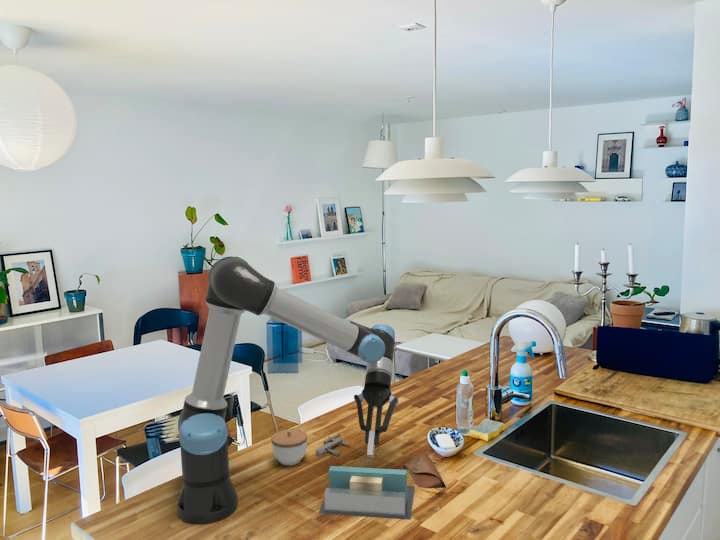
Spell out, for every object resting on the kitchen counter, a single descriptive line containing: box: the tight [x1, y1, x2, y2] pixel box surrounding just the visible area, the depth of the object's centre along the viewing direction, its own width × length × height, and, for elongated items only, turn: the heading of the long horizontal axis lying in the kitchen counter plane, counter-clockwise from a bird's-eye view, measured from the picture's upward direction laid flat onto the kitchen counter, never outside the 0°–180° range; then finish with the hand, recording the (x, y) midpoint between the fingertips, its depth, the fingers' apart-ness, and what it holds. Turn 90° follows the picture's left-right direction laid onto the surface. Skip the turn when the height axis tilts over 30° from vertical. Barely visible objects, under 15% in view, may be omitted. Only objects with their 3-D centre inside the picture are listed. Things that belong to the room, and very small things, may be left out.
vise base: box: [318, 485, 416, 520], centre depth 150 cm, size 23×16×6 cm
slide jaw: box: [328, 465, 408, 504], centre depth 150 cm, size 20×2×8 cm, turn 81°
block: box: [350, 476, 383, 491], centre depth 147 cm, size 8×3×7 cm, turn 81°
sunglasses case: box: [402, 451, 447, 489], centre depth 163 cm, size 18×7×7 cm, turn 10°
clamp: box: [315, 432, 351, 459], centre depth 183 cm, size 15×2×10 cm
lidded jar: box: [270, 428, 308, 466], centre depth 175 cm, size 11×11×9 cm
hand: (370, 455), depth 157 cm, fingers closed
